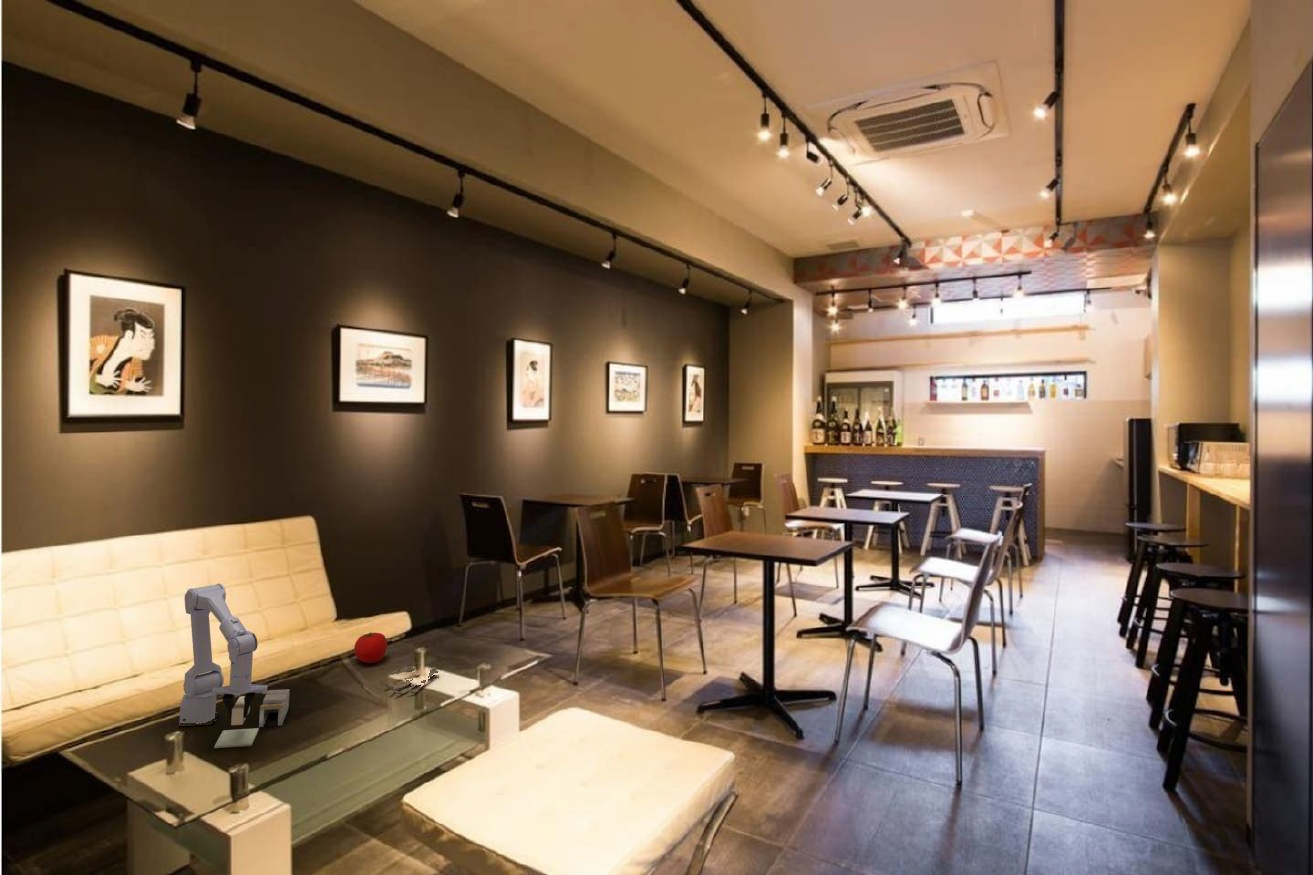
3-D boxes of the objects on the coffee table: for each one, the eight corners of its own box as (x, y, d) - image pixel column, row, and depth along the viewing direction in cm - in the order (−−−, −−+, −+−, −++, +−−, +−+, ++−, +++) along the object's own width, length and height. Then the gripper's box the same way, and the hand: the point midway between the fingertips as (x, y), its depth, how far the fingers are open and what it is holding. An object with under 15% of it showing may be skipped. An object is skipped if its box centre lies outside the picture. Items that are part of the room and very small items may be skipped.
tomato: (394, 659, 289) (396, 632, 288) (368, 670, 277) (370, 641, 276) (372, 652, 294) (374, 625, 294) (345, 662, 282) (347, 635, 281)
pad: (214, 748, 212) (214, 746, 212) (222, 732, 221) (223, 730, 221) (251, 745, 215) (251, 743, 215) (258, 729, 225) (258, 728, 225)
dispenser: (258, 727, 227) (260, 706, 226) (266, 709, 238) (267, 690, 238) (281, 725, 229) (282, 705, 228) (288, 708, 240) (289, 689, 240)
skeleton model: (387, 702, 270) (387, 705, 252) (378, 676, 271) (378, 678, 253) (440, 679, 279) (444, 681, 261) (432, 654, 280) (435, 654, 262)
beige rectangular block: (230, 725, 213) (232, 708, 213) (238, 712, 222) (239, 696, 222) (242, 724, 214) (243, 708, 214) (249, 711, 224) (250, 695, 223)
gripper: (210, 680, 209) (207, 724, 209) (265, 677, 213) (262, 721, 214) (216, 670, 215) (214, 713, 216) (269, 668, 220) (267, 710, 221)
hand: (238, 716), depth 216 cm, fingers closed on beige rectangular block, 3 cm apart
